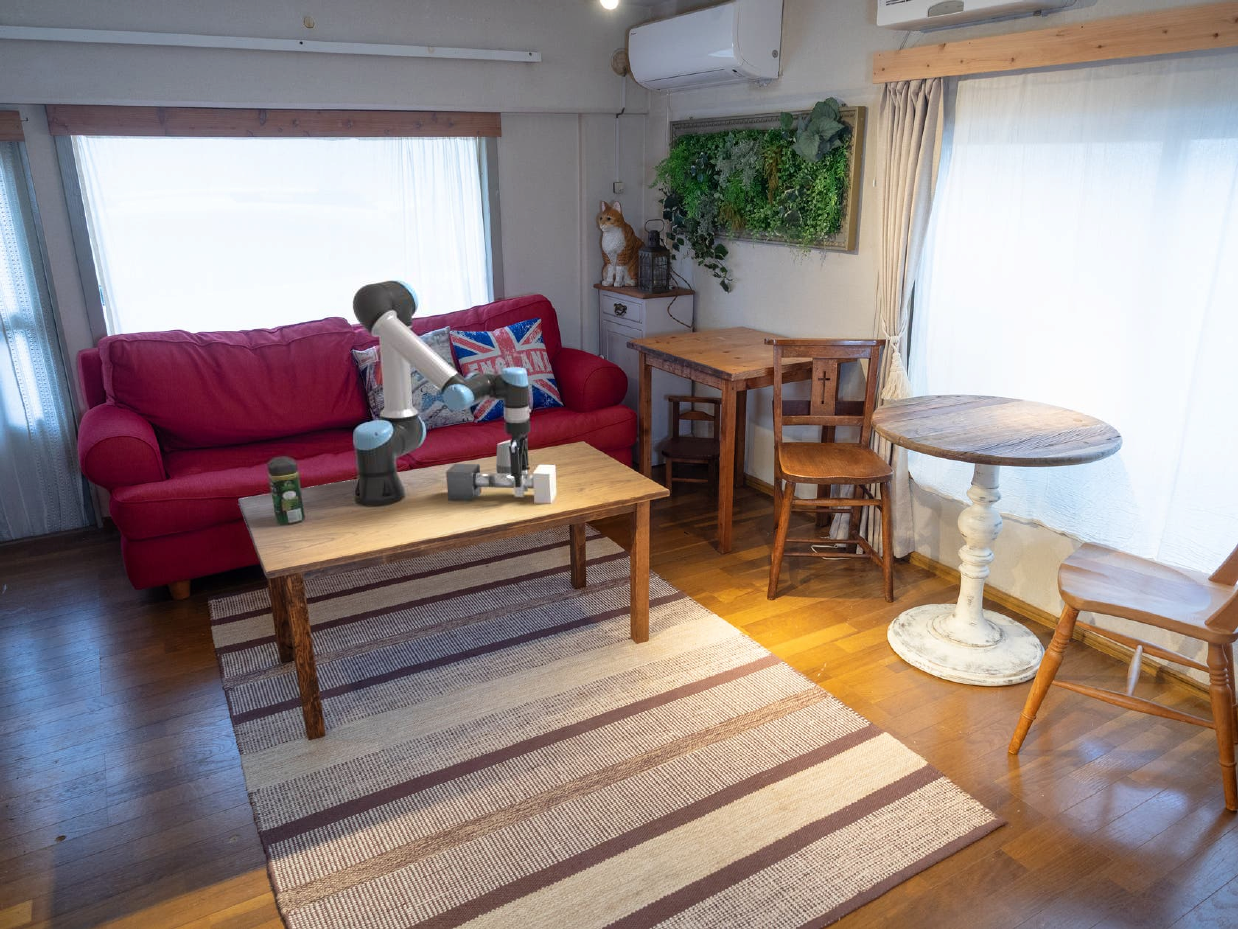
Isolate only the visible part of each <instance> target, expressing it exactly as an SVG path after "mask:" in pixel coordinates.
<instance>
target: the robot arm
mask: <svg viewBox="0 0 1238 929" xmlns="http://www.w3.org/2000/svg"><path fill="white" fill-rule="evenodd" d="M352 299H353V300H352V310H353V314H354V315H355V318H356V319H357V321H358V322H359V324H360V325H361V326H362V328H363V329H364V330H365V331H366V332H368V333H369V334H370V335H371V336H372V337H375V338H377V337H378V339H379V350H380V363H381V364H380V365H381V376H382V389H383V391H382V392H383V402H384V404H383V405H384V408H383V409H382V410H381V411H380V413H379V414H380V415H379V416H380V418H379V419H378V420H376V419H375V420H371V421H369V422H368V421H367V422H364V423H362V424H359V425H358V426H356V427H355V429H354V430H353V433H352V434H353V435H352V437H353V440H352V441H353V442H352V443H353V446H354V455H355V462H356V472H357V479H356V483H355V488H354V493H353V496H354V502H355V503H356V504H357V505H360V506H365V507H380V506H387V505H388V506H389V505H392V504H395V503H398V502H400V501H402V500H404V498H405V497H406V491H405V486H404V484H403V482H402V481H401V478H400V476H399V474H398V470H397V462H396V461H397V460H396V459H398V458H401V457H402V456H404V455H406V454H408V453H412V452H413V451H416V449H418V448H419V447H421V446H422V444H423V443H424V441H425V439H426V435H427V430H426V429H427V428H426V425H425V422H424V421H422V417H420V416H419V411H418V410H417V409H416V408H415V406H414V405H413V392H412V379H411V378H412V376H411V375H412V374H411V367H412V368H413V369H415V371H417V372H418V373H419V374H420V375H421V376H422V377H423V378H424V379H426V380H427V381H428V383H430V384H431V385H432V386H434V387H435V388H436V389H437V390H438V391H439V392H440V393H441V394H442V399H443V401H444V404H445V407H447V409H449V410H450V411H453V412H460V411H463V410H467V409H469V408H471V407H473V406H475V405H477V404H479V403H482V402H484V401H486V400H500V401H501V400H502V402H503V418H504V432H505V433H506V435H510V436H511V439H512V440H511V439H510V440H511V441H510V444H511V446H509V452H510V463H511V477H514V488H513V490H514V497H515V498H517V497H518V498H524V497H525V492H529V488H524V487H523V476H522V474H528V471H529V470H530V466H529V449H528V448H529V447H528V446H529V444H528V443H529V442H528V439H529V436H528V434H529V433H530V432H531V421H530V413H531V412H532V409H531V408H530V403H529V400H530V399H529V380H528V372H527V369H525V368H523V367H519V366H515V367H513V366H512V367H511V366H510V367H509V366H508V367H505V368H503V369H502V370H501V374H500V373H499V374H498V373H484V372H470V373H468V374H467V375H466V377H464V376H463V375H461V374H460V373H459V372H458V371H457V370H456V369H454V367H452V366H451V364H449V363H448V362H446V360H445V359H443V357H442V356H440V355H439V354H438V353H437V352H436V351H435V350H433V349H432V348H431V347H430V346H429V345H428V344H427V343H426V342H425V341H423V339H422V338H420V337H419V336H418V335H417V334H416V333H414V331H412V330H411V328H412V327H413V316H414V315H415V313H416V312H417V310H418V307H419V299H418V295H417V293H416V291H415V290H414V288H412V286H411V285H410V284H409V283H407V282H405V281H402V280H386V281H381V282H376V283H369V284H365V285H364V286H362V287H360V288H359V289H358V290H357V291H356V292H355V294H354V296H353V298H352Z"/></svg>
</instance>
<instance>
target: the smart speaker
mask: <svg viewBox="0 0 1238 929" xmlns="http://www.w3.org/2000/svg"><path fill="white" fill-rule="evenodd" d="M511 440H512V438H511V439H509V440H508V439H507V440H505V441H502V442H499V443H497V444H496V446H497V447H496V473H506V474H511V463H510V452H509V446H511V444H510V441H511Z"/></svg>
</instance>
